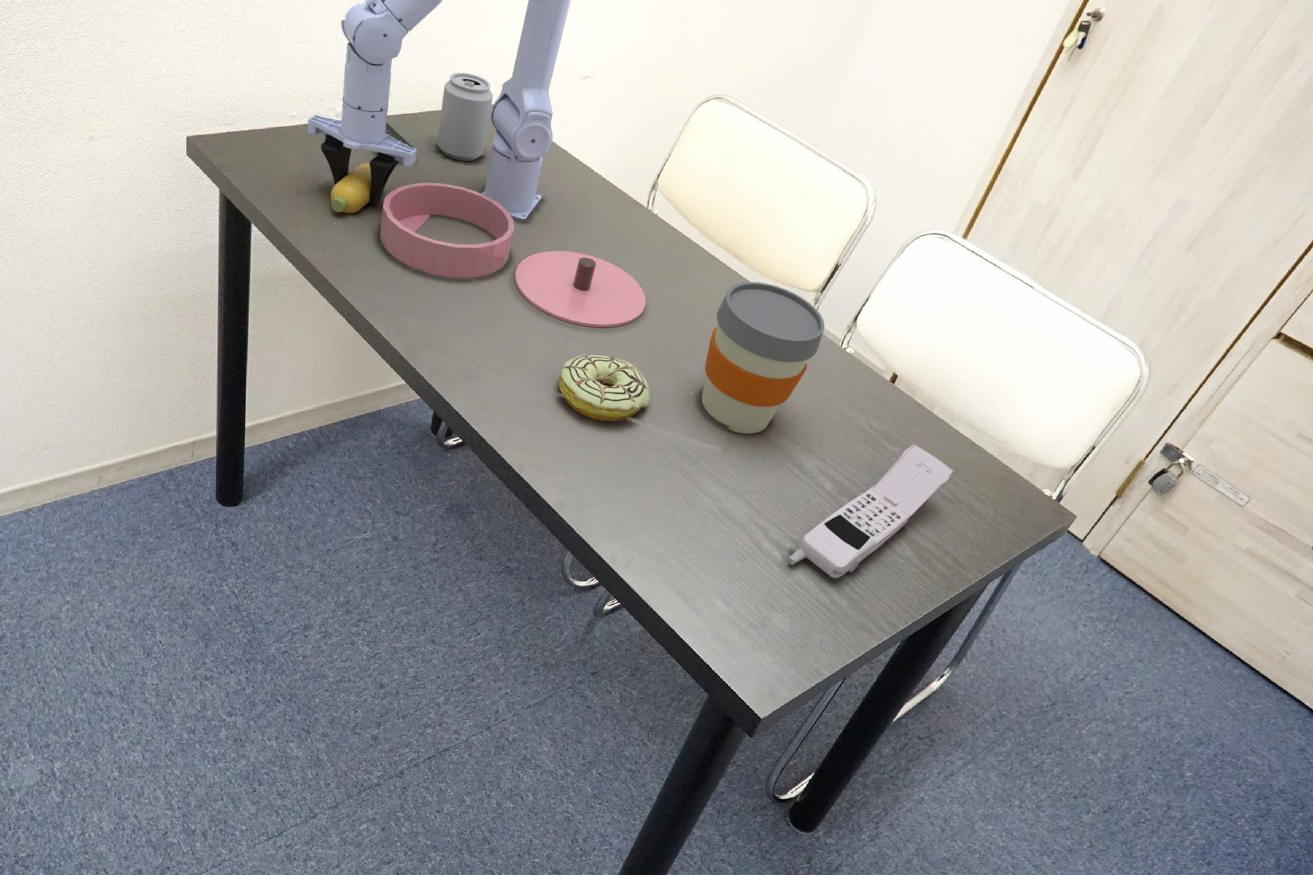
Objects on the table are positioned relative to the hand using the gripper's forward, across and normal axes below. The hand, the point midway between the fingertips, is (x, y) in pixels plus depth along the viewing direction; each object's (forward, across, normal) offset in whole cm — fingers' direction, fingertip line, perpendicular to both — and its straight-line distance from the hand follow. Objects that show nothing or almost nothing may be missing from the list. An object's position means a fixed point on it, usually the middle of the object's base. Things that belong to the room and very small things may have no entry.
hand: (357, 196), depth 133 cm
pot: (+1, +14, -4) cm, 15 cm away
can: (+1, +6, +26) cm, 27 cm away
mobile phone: (+1, +76, -34) cm, 83 cm away
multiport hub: (+1, -4, +19) cm, 20 cm away
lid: (0, +34, -4) cm, 34 cm away
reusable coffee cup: (+1, +58, -19) cm, 62 cm away
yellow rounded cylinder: (+1, 0, 0) cm, 1 cm away
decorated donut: (+1, +42, -26) cm, 50 cm away
